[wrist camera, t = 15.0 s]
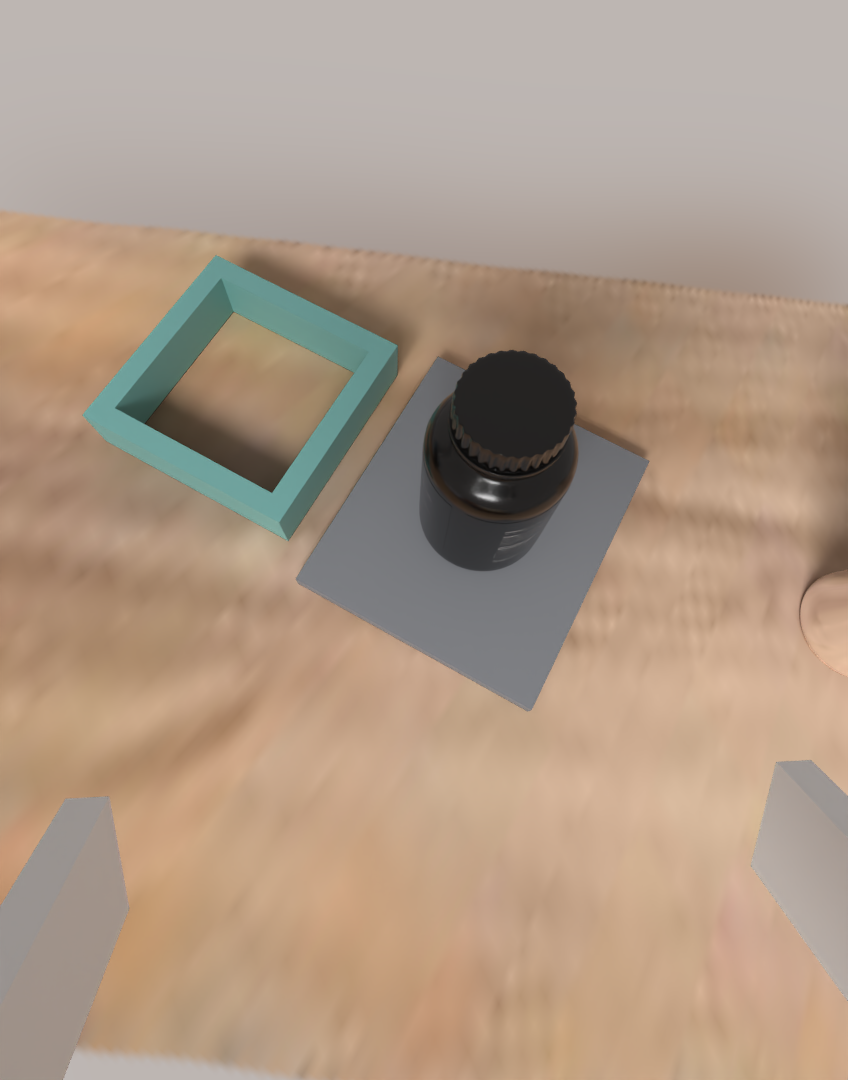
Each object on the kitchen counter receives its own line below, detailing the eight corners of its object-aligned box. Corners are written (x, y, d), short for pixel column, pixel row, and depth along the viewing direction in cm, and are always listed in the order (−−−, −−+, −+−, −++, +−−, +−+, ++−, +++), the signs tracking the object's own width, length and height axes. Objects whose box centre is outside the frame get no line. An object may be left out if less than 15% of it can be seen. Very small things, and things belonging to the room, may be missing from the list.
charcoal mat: (298, 583, 35) (295, 578, 34) (436, 365, 39) (437, 356, 38) (527, 711, 33) (531, 710, 32) (642, 468, 38) (649, 461, 37)
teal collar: (106, 441, 37) (82, 415, 34) (228, 290, 40) (215, 255, 38) (288, 541, 35) (278, 522, 32) (397, 375, 39) (397, 345, 36)
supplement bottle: (538, 463, 36) (604, 332, 25) (540, 577, 34) (613, 491, 23) (419, 456, 36) (431, 321, 25) (413, 571, 34) (424, 481, 23)
